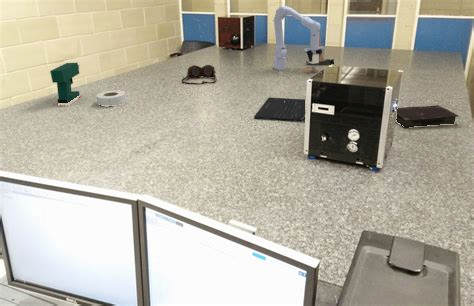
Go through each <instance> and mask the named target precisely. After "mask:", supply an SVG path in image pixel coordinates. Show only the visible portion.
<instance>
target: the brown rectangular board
mask: <svg viewBox="0 0 474 306" xmlns="http://www.w3.org/2000/svg"><path fill="white" fill-rule="evenodd" d="M296 70H297V71H300V72H303V73H306V74H309V75H311V74H317V72H319V71H321V70H319V69H317V68H316V66H311V67H310V66H307V67H300V68H296ZM319 73H320V72H319Z"/></svg>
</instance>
